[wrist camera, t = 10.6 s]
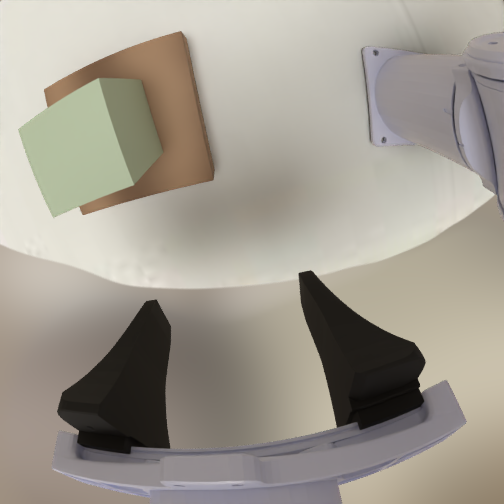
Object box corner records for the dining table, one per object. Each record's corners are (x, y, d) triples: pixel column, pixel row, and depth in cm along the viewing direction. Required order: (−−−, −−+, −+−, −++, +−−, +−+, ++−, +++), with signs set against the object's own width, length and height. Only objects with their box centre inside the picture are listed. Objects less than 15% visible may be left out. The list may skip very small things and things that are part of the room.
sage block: (141, 79, 13) (98, 78, 8) (163, 152, 16) (134, 185, 11) (74, 111, 13) (18, 129, 8) (97, 177, 16) (53, 217, 11)
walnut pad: (187, 39, 14) (181, 31, 12) (214, 167, 20) (213, 180, 17) (64, 87, 14) (44, 89, 12) (97, 199, 20) (82, 215, 17)
